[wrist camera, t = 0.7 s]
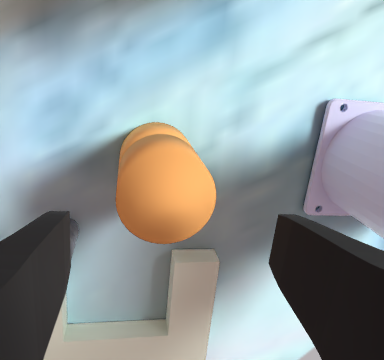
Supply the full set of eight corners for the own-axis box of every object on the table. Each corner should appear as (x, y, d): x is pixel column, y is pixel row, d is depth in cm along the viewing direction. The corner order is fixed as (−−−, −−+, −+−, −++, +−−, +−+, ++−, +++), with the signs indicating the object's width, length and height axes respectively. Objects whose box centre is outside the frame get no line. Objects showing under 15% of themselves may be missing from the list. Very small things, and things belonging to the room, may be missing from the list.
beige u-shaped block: (214, 249, 24) (219, 261, 22) (200, 347, 26) (204, 364, 25) (31, 250, 21) (24, 265, 20) (39, 358, 24) (33, 378, 23)
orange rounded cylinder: (194, 124, 20) (222, 153, 14) (187, 191, 22) (210, 243, 16) (120, 119, 19) (117, 148, 13) (118, 190, 21) (114, 244, 15)
